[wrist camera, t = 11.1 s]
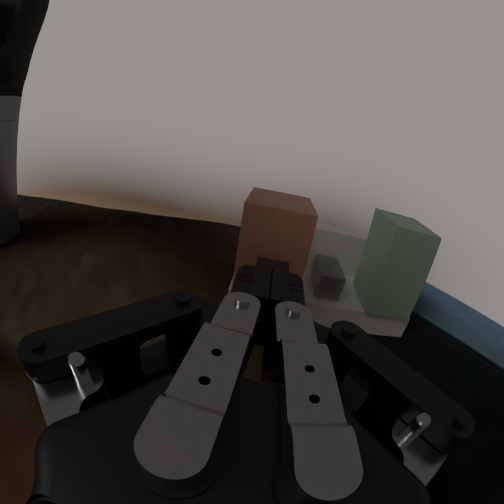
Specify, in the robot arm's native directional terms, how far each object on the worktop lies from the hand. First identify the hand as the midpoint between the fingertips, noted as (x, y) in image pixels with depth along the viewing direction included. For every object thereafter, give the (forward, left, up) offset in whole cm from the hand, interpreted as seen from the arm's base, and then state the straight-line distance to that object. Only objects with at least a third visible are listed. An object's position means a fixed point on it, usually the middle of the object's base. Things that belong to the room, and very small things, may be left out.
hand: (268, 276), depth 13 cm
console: (+5, +9, -7) cm, 12 cm away
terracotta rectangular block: (0, +5, -4) cm, 7 cm away
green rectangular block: (+10, +8, -4) cm, 13 cm away
